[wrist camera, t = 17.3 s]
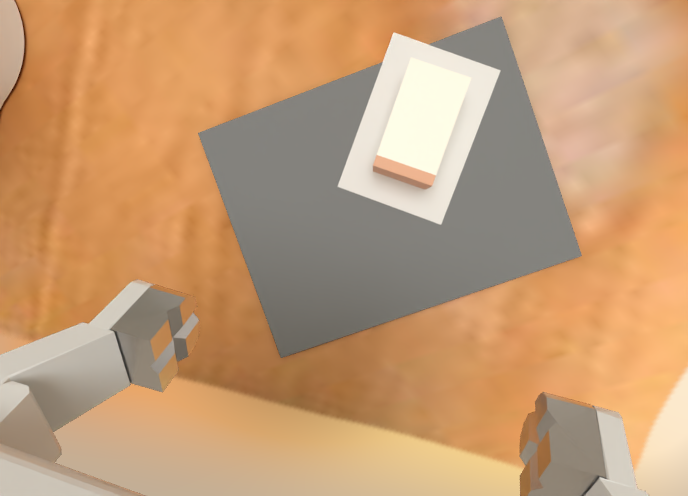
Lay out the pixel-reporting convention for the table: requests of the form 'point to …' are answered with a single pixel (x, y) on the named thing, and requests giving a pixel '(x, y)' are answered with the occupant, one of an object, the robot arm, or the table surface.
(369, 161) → the mat
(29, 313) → the table surface
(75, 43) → the table surface
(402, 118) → the block
